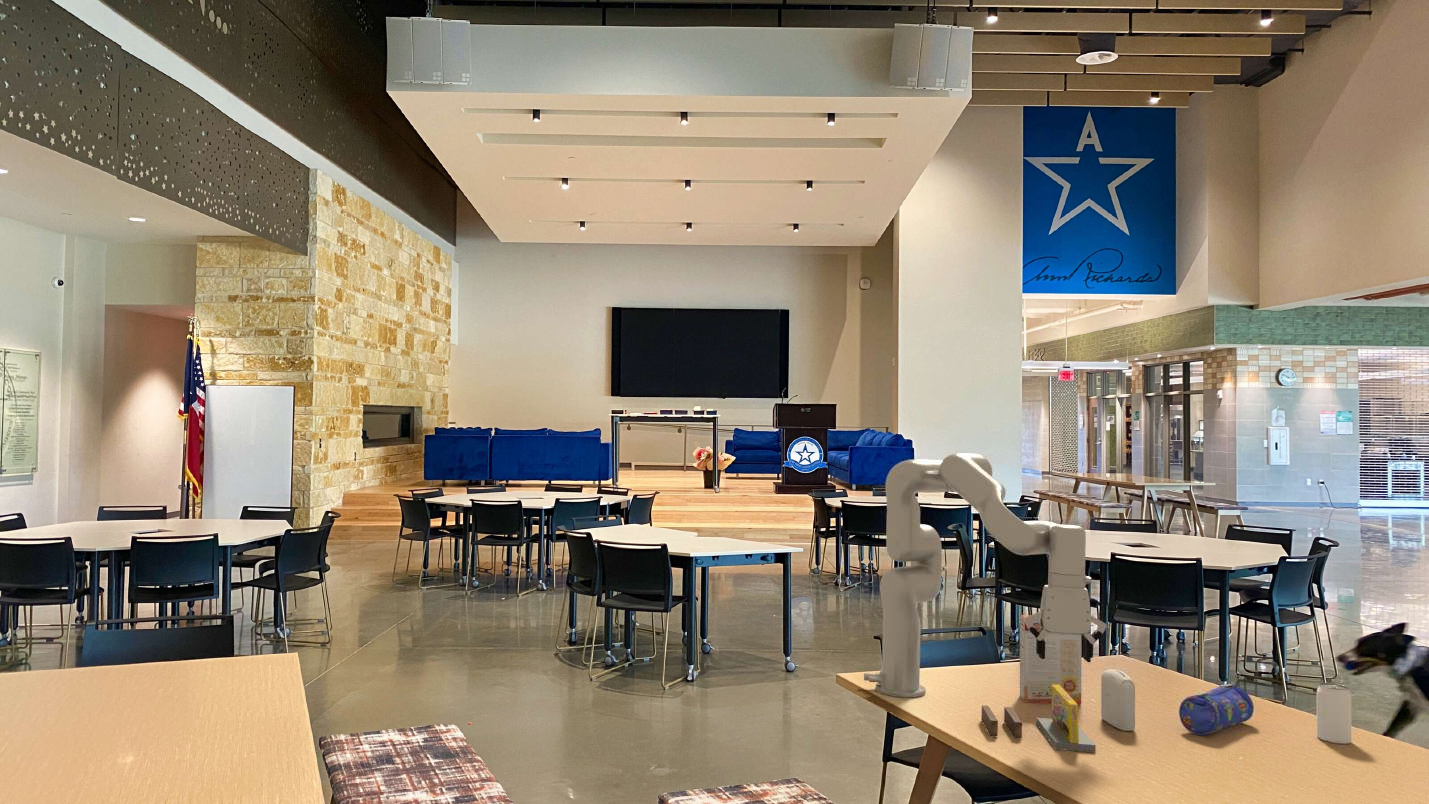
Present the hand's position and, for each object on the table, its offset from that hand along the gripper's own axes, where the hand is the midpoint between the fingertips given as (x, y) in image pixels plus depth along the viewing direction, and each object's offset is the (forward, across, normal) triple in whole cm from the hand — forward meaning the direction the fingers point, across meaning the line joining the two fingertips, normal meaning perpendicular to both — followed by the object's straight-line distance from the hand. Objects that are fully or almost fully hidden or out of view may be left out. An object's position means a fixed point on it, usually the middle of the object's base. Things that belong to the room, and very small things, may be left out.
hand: (1064, 659), depth 202 cm
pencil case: (+17, -38, -16) cm, 45 cm away
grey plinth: (+17, 0, 0) cm, 17 cm away
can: (+16, -61, -12) cm, 65 cm away
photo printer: (+17, -15, -13) cm, 26 cm away
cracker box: (+17, -4, -31) cm, 35 cm away
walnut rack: (+17, +13, -3) cm, 21 cm away
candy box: (+16, 0, +1) cm, 16 cm away
